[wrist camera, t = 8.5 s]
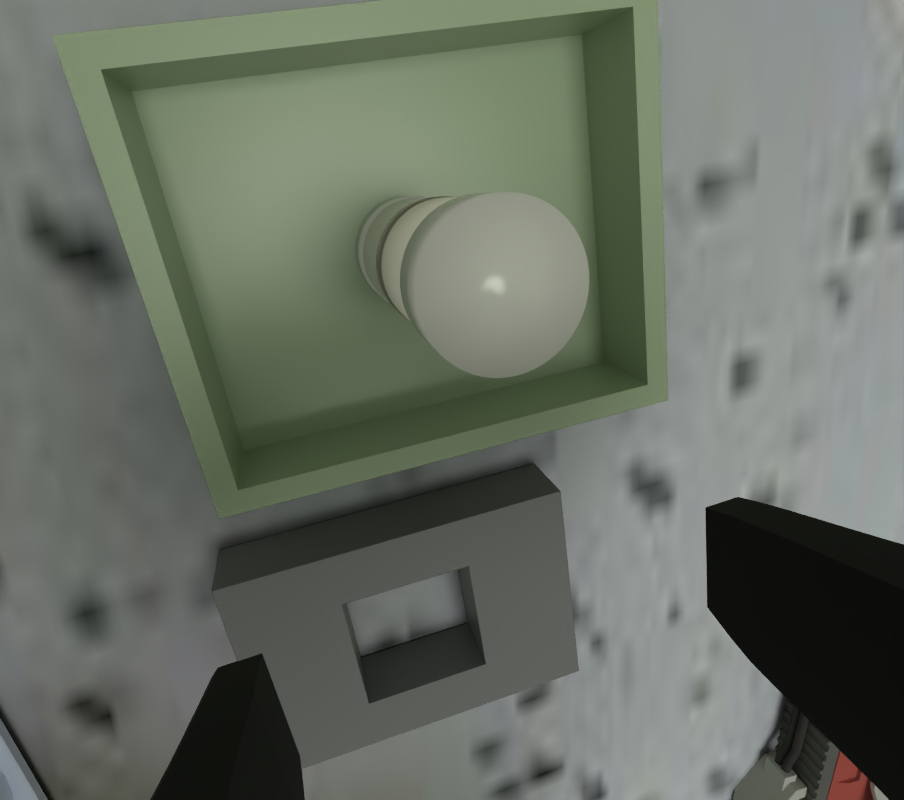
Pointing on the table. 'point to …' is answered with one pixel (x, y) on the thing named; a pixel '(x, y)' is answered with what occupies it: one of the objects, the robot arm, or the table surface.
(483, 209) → the cylinder
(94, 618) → the table surface
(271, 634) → the fuse block
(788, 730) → the red belt-clip case
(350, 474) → the parts tray
